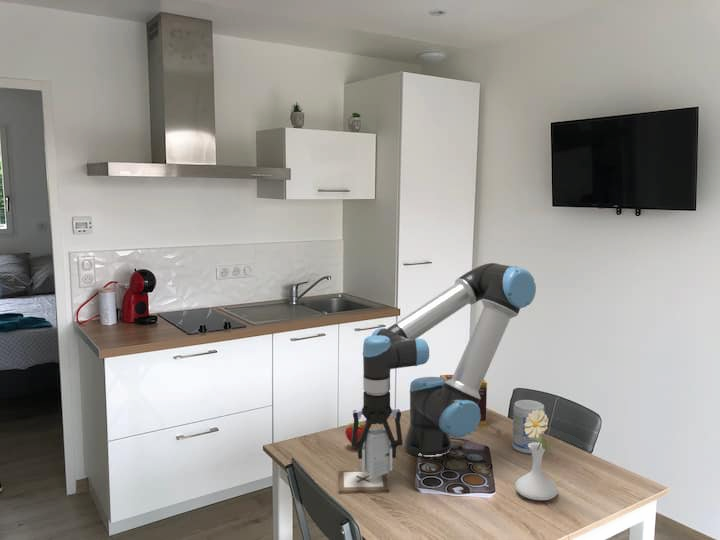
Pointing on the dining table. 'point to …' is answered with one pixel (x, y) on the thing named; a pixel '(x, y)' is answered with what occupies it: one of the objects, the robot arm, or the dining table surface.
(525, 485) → the flower in vase
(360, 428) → the strawberry
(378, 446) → the skincare box
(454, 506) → the dining table surface
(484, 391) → the supplement box
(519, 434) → the supplement tub
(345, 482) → the tray with cross mark
